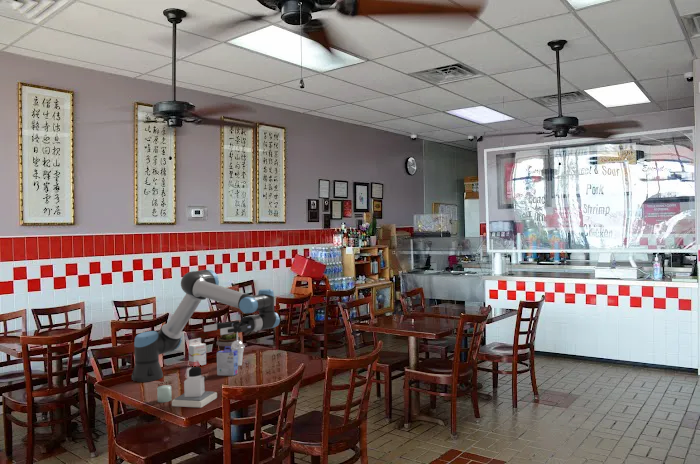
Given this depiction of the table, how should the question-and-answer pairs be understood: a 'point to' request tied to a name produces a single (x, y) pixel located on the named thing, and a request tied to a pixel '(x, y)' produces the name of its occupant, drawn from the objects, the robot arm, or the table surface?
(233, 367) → the ink cartridge box
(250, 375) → the table surface
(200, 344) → the ink cartridge box
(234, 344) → the block with straw
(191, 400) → the podium
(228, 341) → the flowerpot
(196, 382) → the medicine bottle
